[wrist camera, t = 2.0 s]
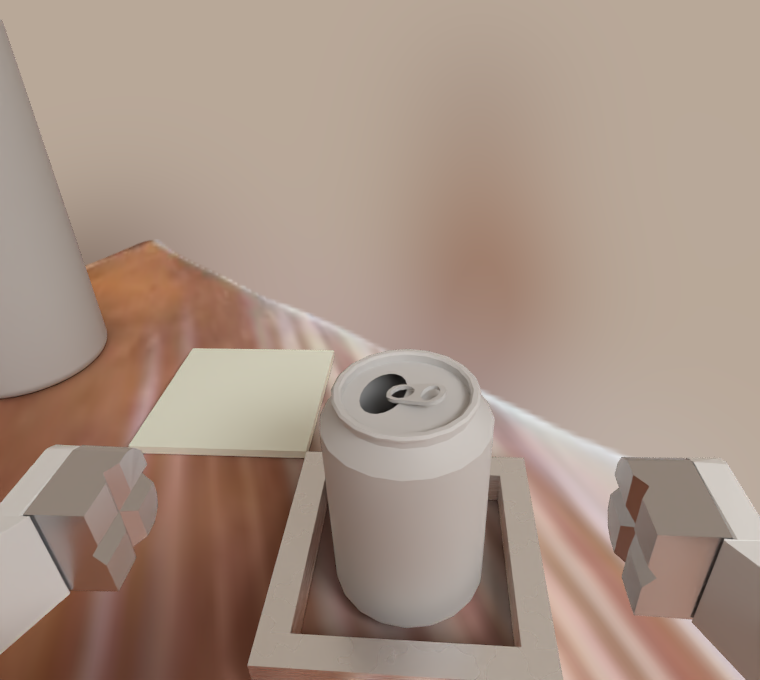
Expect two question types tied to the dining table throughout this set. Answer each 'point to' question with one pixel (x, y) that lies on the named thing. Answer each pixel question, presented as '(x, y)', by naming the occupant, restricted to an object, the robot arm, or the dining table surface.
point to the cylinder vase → (37, 257)
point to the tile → (239, 404)
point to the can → (407, 484)
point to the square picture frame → (403, 657)
